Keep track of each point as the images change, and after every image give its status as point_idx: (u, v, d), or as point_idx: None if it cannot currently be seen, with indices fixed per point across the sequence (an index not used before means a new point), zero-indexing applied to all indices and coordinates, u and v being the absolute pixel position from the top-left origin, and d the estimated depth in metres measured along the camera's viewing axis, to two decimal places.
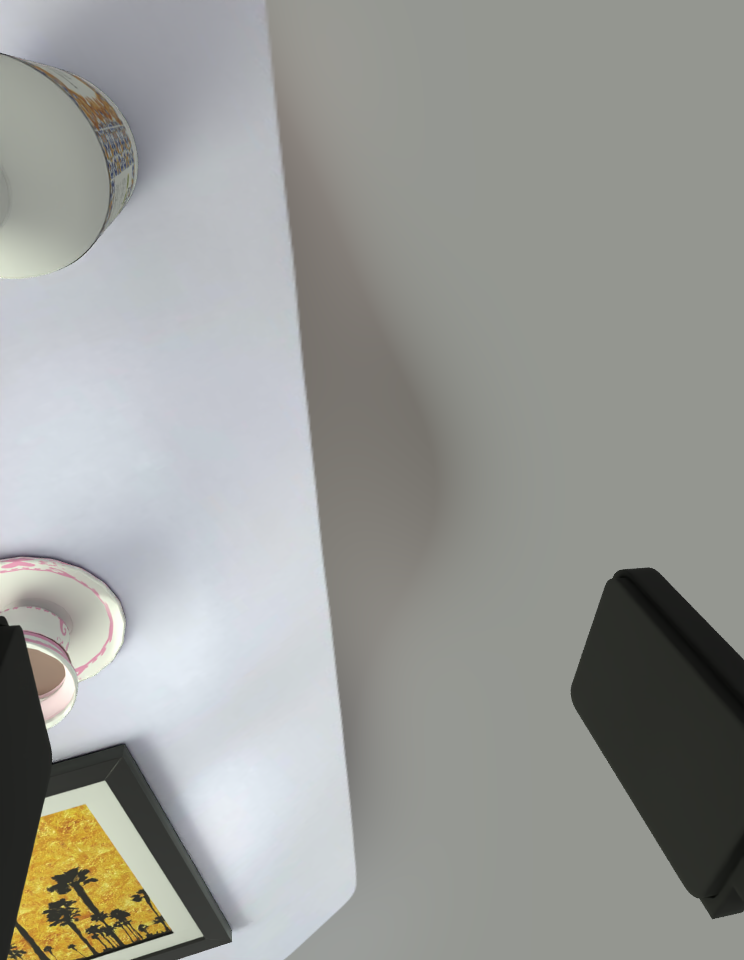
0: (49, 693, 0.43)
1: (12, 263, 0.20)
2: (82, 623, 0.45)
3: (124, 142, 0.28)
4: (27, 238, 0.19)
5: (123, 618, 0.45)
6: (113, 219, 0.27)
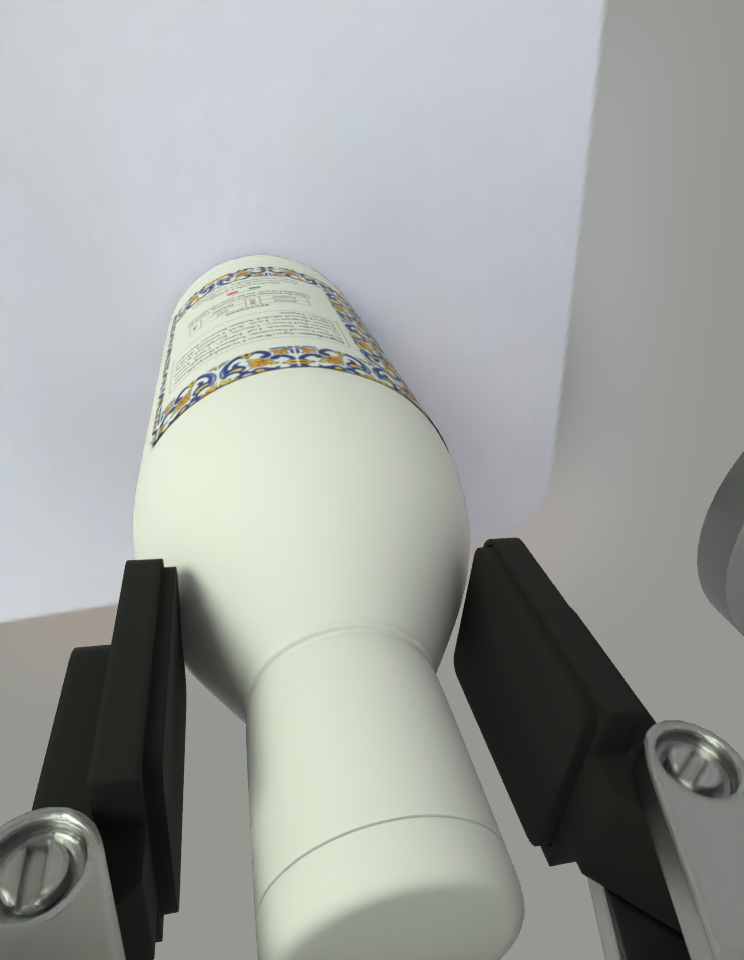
0: None
1: (185, 661, 0.11)
2: None
3: None
4: None
5: None
6: None
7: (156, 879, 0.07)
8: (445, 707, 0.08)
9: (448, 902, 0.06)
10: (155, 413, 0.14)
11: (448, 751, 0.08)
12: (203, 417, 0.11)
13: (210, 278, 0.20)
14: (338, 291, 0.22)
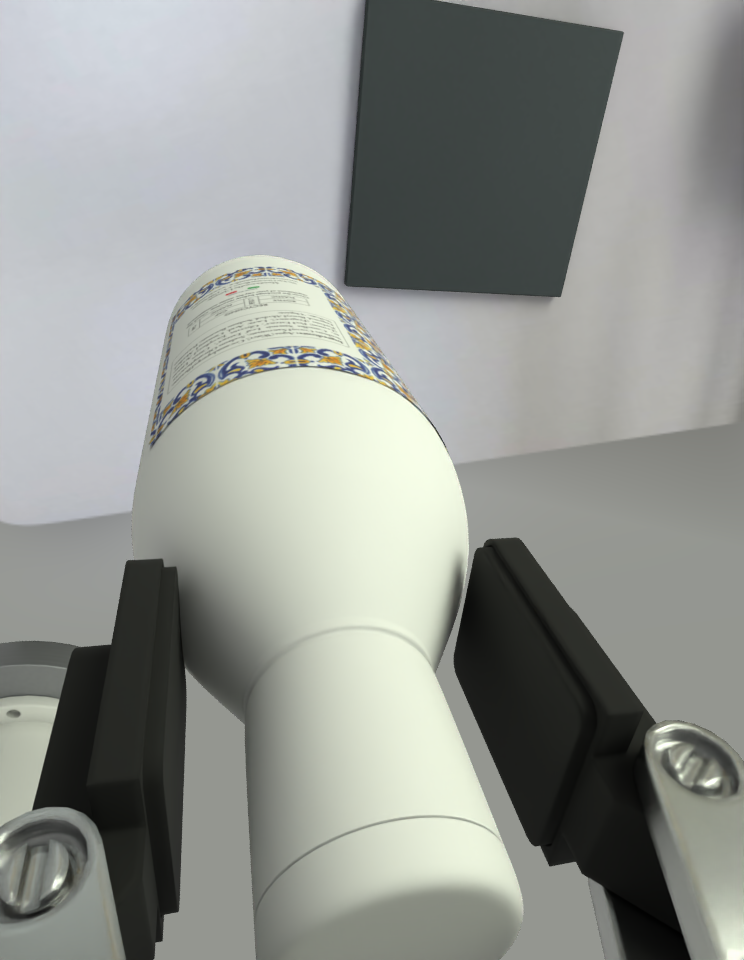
0: None
1: None
2: None
3: None
4: None
5: None
6: None
7: (156, 879, 0.07)
8: (444, 708, 0.08)
9: (447, 903, 0.06)
10: (154, 413, 0.14)
11: (447, 750, 0.08)
12: (202, 417, 0.11)
13: (209, 278, 0.20)
14: (337, 291, 0.22)
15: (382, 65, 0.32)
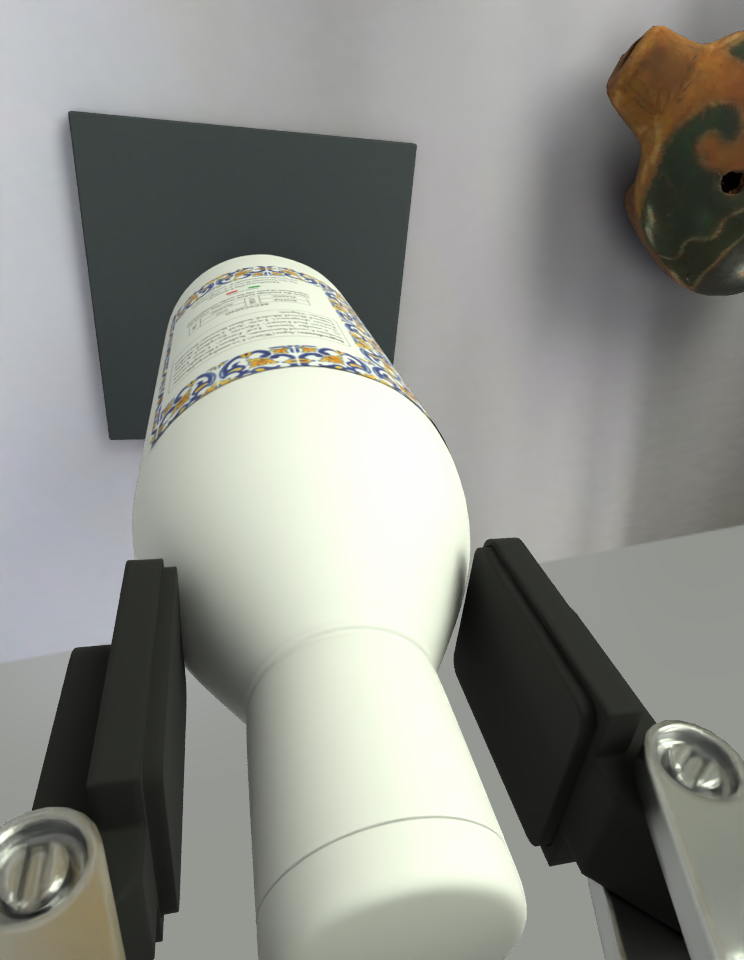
0: None
1: (184, 661, 0.11)
2: None
3: None
4: None
5: None
6: None
7: (156, 879, 0.07)
8: (446, 708, 0.08)
9: (450, 904, 0.06)
10: (154, 413, 0.14)
11: (449, 751, 0.07)
12: (203, 417, 0.11)
13: (209, 277, 0.20)
14: (338, 291, 0.22)
15: (104, 197, 0.26)
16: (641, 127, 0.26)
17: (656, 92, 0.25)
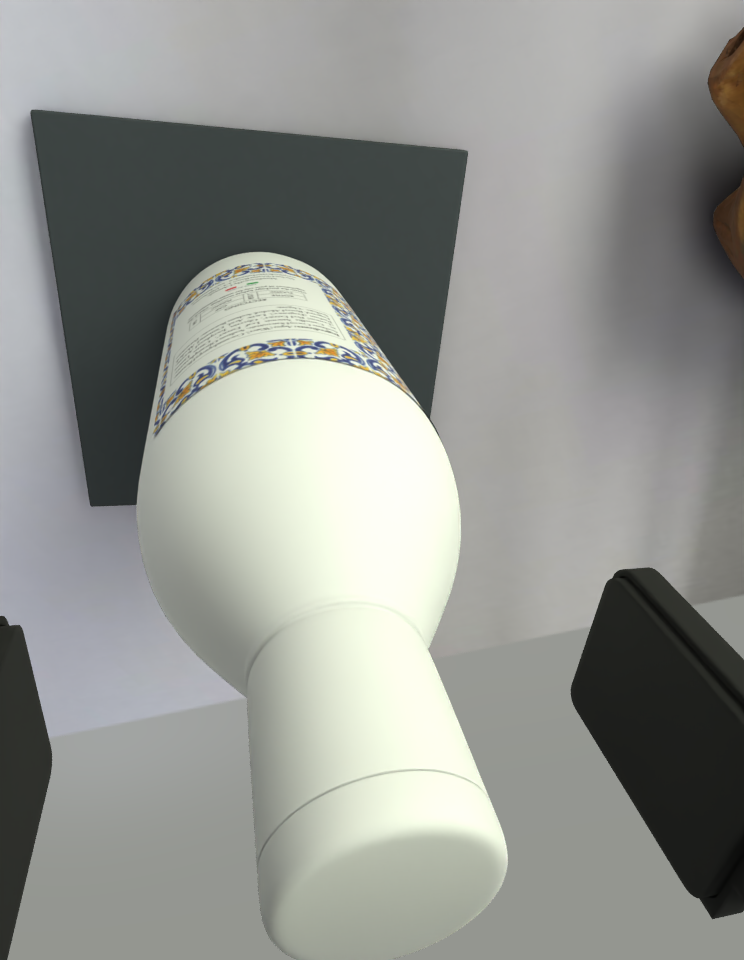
0: None
1: (188, 639, 0.11)
2: None
3: None
4: None
5: None
6: None
7: None
8: (435, 676, 0.09)
9: (435, 848, 0.07)
10: (157, 405, 0.15)
11: (437, 713, 0.08)
12: (204, 407, 0.12)
13: (209, 274, 0.20)
14: (334, 287, 0.22)
15: (79, 218, 0.21)
16: None
17: None
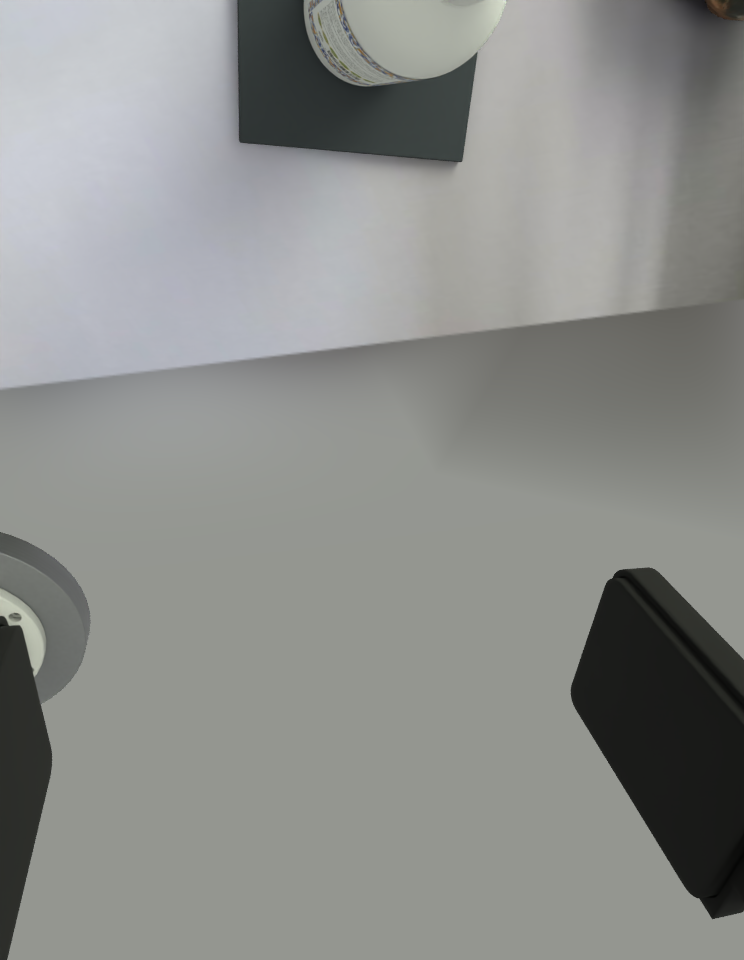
0: None
1: None
2: None
3: None
4: (409, 4, 0.23)
5: None
6: (346, 62, 0.31)
7: None
8: None
9: None
10: None
11: None
12: None
13: None
14: None
15: None
16: None
17: None
